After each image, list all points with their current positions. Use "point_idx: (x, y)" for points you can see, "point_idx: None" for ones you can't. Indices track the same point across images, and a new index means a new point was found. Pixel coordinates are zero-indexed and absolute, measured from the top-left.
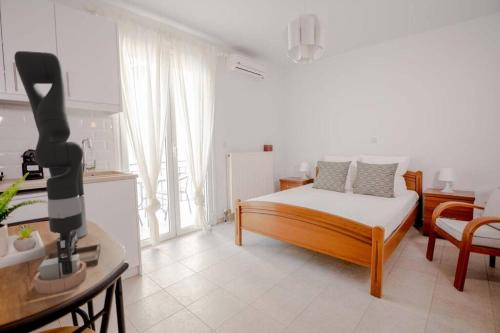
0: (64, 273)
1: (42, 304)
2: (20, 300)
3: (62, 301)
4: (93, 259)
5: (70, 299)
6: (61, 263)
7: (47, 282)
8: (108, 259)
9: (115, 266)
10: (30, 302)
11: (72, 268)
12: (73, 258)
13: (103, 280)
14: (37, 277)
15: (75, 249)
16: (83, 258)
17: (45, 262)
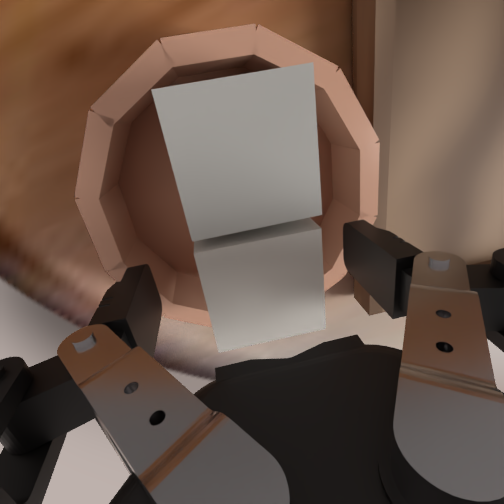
0: (116, 286)
1: (17, 170)
2: (73, 2)
3: (38, 257)
4: None
5: (53, 285)
6: (104, 316)
7: (77, 182)
8: (395, 320)
9: None
10: (43, 87)
11: (158, 322)
12: (251, 323)
13: (195, 358)
14: (169, 66)
15: (386, 309)
16: (464, 211)
17: (247, 110)
